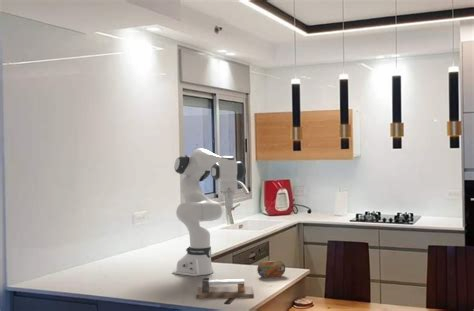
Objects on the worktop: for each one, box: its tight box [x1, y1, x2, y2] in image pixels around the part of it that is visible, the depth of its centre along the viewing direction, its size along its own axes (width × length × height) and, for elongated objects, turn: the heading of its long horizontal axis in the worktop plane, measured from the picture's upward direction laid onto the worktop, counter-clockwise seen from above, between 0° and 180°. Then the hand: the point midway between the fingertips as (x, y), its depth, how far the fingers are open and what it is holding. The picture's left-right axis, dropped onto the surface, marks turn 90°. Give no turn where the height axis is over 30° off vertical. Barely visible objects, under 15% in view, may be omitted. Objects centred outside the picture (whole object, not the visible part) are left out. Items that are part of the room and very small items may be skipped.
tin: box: [256, 260, 286, 279], centre depth 284 cm, size 15×3×8 cm, turn 105°
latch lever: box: [209, 278, 245, 286], centre depth 251 cm, size 18×4×1 cm, turn 91°
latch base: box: [196, 276, 254, 299], centre depth 251 cm, size 26×14×7 cm, turn 91°
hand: (229, 214), depth 274 cm, fingers closed
